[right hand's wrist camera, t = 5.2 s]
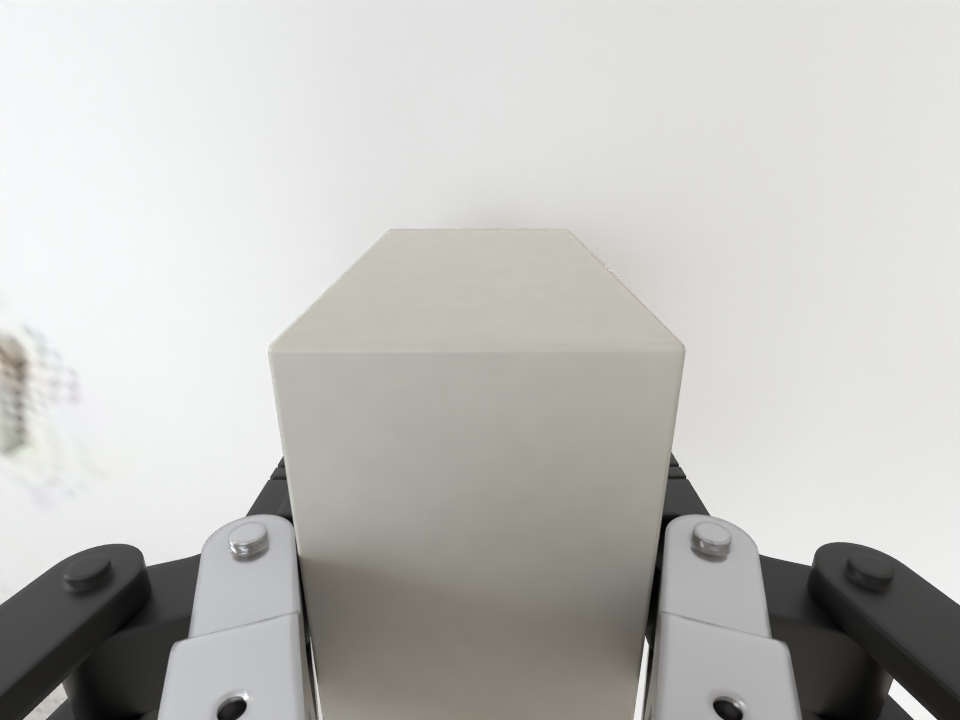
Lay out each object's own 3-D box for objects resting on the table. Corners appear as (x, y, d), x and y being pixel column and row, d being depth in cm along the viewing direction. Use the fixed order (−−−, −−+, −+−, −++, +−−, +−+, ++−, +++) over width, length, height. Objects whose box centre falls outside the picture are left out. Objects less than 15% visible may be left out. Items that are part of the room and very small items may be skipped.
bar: (387, 228, 15) (263, 345, 6) (569, 228, 15) (689, 345, 6) (422, 790, 23) (388, 1166, 15) (537, 790, 23) (571, 1166, 15)
